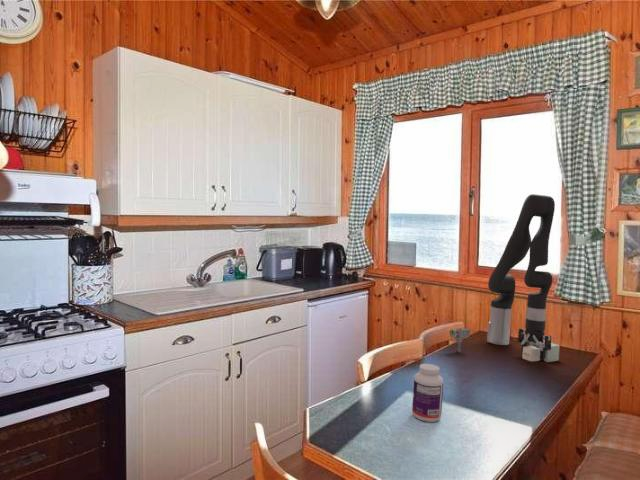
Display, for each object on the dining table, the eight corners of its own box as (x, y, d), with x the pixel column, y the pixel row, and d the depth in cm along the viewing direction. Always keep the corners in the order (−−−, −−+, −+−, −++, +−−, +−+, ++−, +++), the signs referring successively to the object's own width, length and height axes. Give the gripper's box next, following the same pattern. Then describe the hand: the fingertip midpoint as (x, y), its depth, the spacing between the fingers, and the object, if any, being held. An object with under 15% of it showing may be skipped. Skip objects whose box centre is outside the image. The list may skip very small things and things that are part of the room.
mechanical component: (447, 351, 191) (448, 328, 191) (465, 350, 195) (466, 327, 195) (451, 353, 188) (453, 330, 188) (470, 351, 193) (471, 329, 192)
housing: (539, 354, 195) (540, 339, 195) (558, 360, 187) (559, 345, 186) (528, 355, 192) (529, 340, 191) (547, 362, 184) (548, 346, 183)
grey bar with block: (549, 355, 194) (550, 344, 193) (558, 358, 190) (559, 347, 189) (520, 358, 187) (521, 346, 187) (528, 361, 183) (529, 349, 183)
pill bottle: (419, 408, 130) (422, 360, 129) (445, 417, 125) (449, 367, 124) (406, 416, 124) (409, 366, 123) (433, 426, 119) (436, 373, 118)
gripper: (557, 321, 181) (554, 360, 181) (527, 314, 193) (524, 351, 194) (544, 322, 177) (542, 362, 178) (515, 315, 190) (512, 352, 191)
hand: (533, 356), depth 186 cm, fingers open, 8 cm apart
